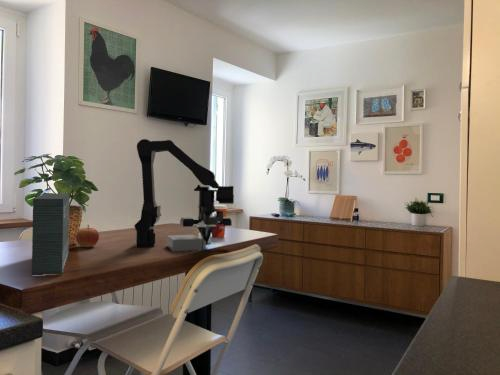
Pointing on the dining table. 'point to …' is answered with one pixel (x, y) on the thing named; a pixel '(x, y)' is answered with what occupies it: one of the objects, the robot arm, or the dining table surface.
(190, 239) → the block
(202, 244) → the tray
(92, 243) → the apple
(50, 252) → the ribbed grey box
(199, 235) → the riser
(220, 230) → the paper cup
